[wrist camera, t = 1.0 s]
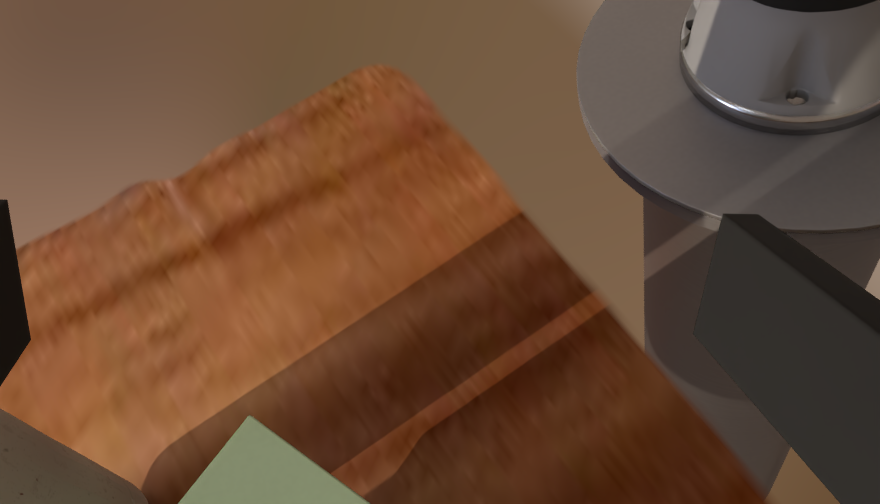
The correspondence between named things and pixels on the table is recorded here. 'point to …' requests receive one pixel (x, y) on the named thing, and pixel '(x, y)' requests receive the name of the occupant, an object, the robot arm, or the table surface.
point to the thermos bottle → (54, 471)
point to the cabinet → (266, 474)
